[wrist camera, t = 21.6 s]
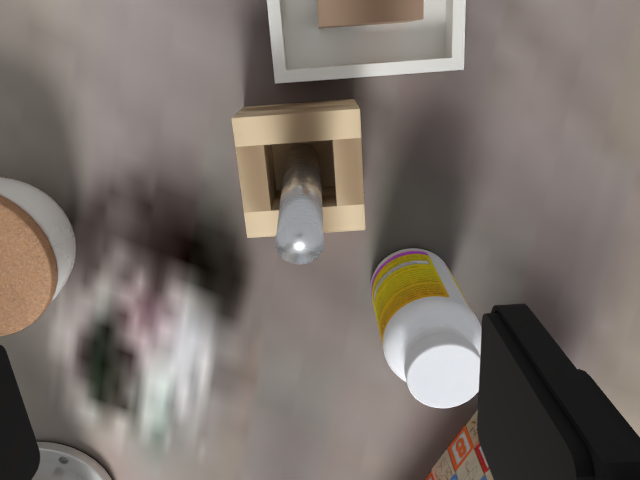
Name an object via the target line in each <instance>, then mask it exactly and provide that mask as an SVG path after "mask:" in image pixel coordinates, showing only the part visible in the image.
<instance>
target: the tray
mask: <svg viewBox="0 0 640 480" xmlns="http://www.w3.org/2000/svg"><path fill="white" fill-rule="evenodd" d="M267 7H268V17H269V28H270V38H271V48H272V58H273V69H274V79H275V84H276V83H290V82H303V81H317V80H330V79H344V78H357V77H371V76H384V75H398V74H411V73H425V72H438V71H452V70H464V46H465V9H466V0H424V15H423V19H422V20H417V21H412V22H406V23H392V24H377V25H363V26H349V27H334V28H320V29H319V25H318V9H317V0H267Z"/></svg>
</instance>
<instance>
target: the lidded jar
mask: <svg viewBox="0 0 640 480" xmlns="http://www.w3.org/2000/svg"><path fill="white" fill-rule="evenodd" d="M75 254H76V242H75V235H74V232H73V228H72V226H71V224H70V221H69V219H68V217H67V216H66V214H65V213H64V211H63V210H62V208H61V207H60V206H59V205H58V204H57V203H56V202H55V201H54V200H53V199H52V198H51V197H50V196H48V195H47V194H46V193H44V192H43V191H41V190H40V189H38V188H36V187H34V186H32V185H30V184H27V183H24V182H22V181H18V180H14V179H9V178H4V177H0V336H5V335H9V334H13V333H15V332H18V331H20V330H22V329H24V328H26V327H27V326H29V325H30V324H32V323H33V322H34V321H35V320H36V319H37V318H38V317H39V316H40V315H41V314H42V313H43V312H44V311H45V310H46V308H47V307H48V306H49V304H50V303H51V302H52V301H53V300H54V299H55V298H56V296H57V295H58V294H59V292H60V291H61V289H62V288H63V286H64V285H65V283H66V282H67V280H68V278H69V275H70V273H71V271H72V268H73V265H74V261H75Z"/></svg>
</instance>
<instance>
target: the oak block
mask: <svg viewBox="0 0 640 480" xmlns="http://www.w3.org/2000/svg"><path fill="white" fill-rule="evenodd" d="M232 125H233V132H234V140H235V148H236V155H237V163H238V170H239V178H240V186H241V193H242V201H243V209H244V216H245V224H246V231H247V238H253V237H268V236H276V233H277V224H278V216H279V207H280V198H281V190H282V181H283V173H284V164H285V157H286V154H287V152H288V151H289V150H290V149H291V148H292V147H294V146H296V145H300V144H305V145H309V146H311V147H313V148H314V149H315V150H316V151H317V152H318V154H319V156H320V164H321V187H322V210H323V233H326V232H340V231H355V230H365V213H364V190H363V168H362V145H361V122H360V108H359V106H358V105H357V103H356V101H355V100H354V99H343V100H330V101H316V102H303V103H289V104H276V105H263V106H249V107H243V108H242V109H241V110H240V111H239V112H238V113H237V114H236V115H235V116H234V117H232Z"/></svg>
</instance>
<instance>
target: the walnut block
mask: <svg viewBox="0 0 640 480" xmlns="http://www.w3.org/2000/svg"><path fill="white" fill-rule="evenodd" d="M317 9H318V25H319V29H320V28H334V27H349V26H363V25H377V24H392V23H406V22H412V21H417V20H422V19H423V15H424V0H317Z"/></svg>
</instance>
